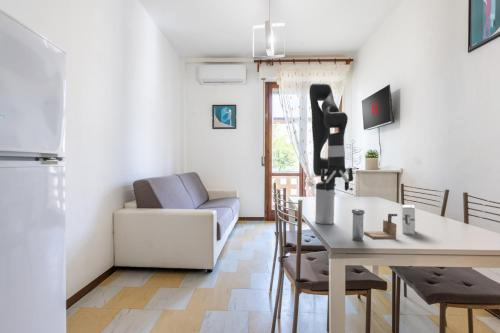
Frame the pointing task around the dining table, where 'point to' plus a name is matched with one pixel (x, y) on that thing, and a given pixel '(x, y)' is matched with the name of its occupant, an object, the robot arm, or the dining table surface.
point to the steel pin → (357, 225)
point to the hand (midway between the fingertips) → (336, 190)
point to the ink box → (408, 219)
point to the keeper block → (384, 230)
